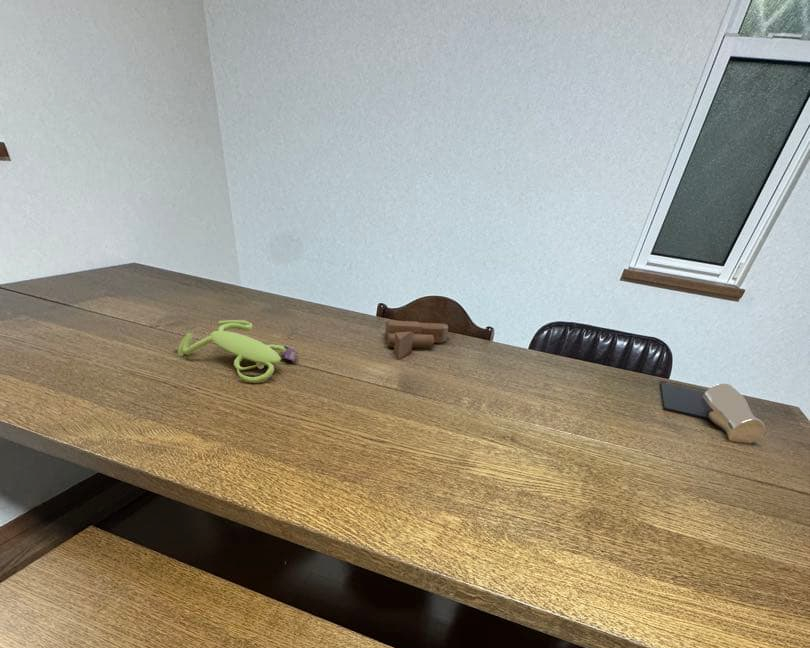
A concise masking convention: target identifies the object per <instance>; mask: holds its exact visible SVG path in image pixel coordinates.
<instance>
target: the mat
mask: <svg viewBox="0 0 810 648" xmlns="http://www.w3.org/2000/svg"><path fill="white" fill-rule="evenodd" d="M659 387H660V394H661V402H662V403H661V404H662V410H663V411H668V412H670V413H671V412H672V413H676V414H680V415H684V416H688V417H692V418H697V419H701V420H704V421H705V420H706V421H710V422H712V421H711V420H710V419H709V417H708V416H707V415H706V413H705V411H704V409H703V408H702V406H701V399H702V396H703V395H704V393H705V392H706V391H701V390H697V389H692V388H688V387H683V386H679V385H675V384H670V383H665V382H660V384H659Z"/></svg>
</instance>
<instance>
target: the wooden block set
mask: <svg viewBox="0 0 810 648" xmlns="http://www.w3.org/2000/svg"><path fill="white" fill-rule="evenodd" d="M448 332H449V326H448V324H447V323H435V322H420V321H411V320H410V321H409V320H391V319H389V320H386V322H385V332H384V333H385V334H384V337H385V340H386V346H387V347H388V348H393V354H394V355H395V358H396V359H397V360H398V361H399V360H401V359H402V358H405V357H407V356H408V355H411V354H413V348H414V349H415V348H417V349H432V348H434V344H442V343H444V342H446V341H447V339H448Z"/></svg>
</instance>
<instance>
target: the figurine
mask: <svg viewBox="0 0 810 648" xmlns="http://www.w3.org/2000/svg"><path fill="white" fill-rule="evenodd" d="M217 325H218V328H217V330H213V331H212V332H211V333H210V334H209V335H208V336H205V337H204V338H202V339H200V340H199V341H196V342H194V343H193V344H191V342H192V341H193V338H194V334H193V333H192V332H188V333H186V334H185V336H184V337H183V339H182V340H181V341H180V344H179V346H178V348H177V355H178V356H179V357H183V356H184V355H188V356H189V355H191V354H193V353H194V352H196V351H197V350H198V349H200V348H202V347H204V346H206V345H208V344H209V343H211V342H213V343H214V344H215V345H217V347H220V348H221V349H222V350H224V351H225V352H227V353H229V354H231V355H234V356H235V357H236V358H235V359H234V360H233V366H234V369H235V370H237V371H236V372H237V375H238V376H239V378H240V380H242V381H244V382H247V383H250V384H258V383H263V382H265V381H266V380H268V379H270V378H271V377H272V375H274V372H275V365H277V364H279V363H281V360H282V358H283V359H285V360H289V361H292V362H295V361H296V357H297V354H298V351H297V350H295V349H292V348H290V347H288V346H286V345H279V344H277V345H276V344H265V343H264V342H262V341H260V340H257V339H256V338H252V337H251V336H248V335H244V334H241V333H237V332H234V331H228V330H230V329H237V330H242V331H247V332H248V331H251V330H253V327H254V326H253V323H252V322H250V321H248V320H244V319H227V320H218V322H217ZM277 351H281V352H282V353H283V355H282V354H281V355H279V353H278V352H277ZM243 360H247V361H250V362H254V363H255V364H254V365H250V366H246V367H243V366H241V362H242V361H243ZM265 366H267V367H268V368H267V370H266V372H265V373H263V374H261V375H258V376H254V377H253V376H247V375H245V374H243V373H241V371H247V370H250V369H255V368H257V369H258V370H260V371H261V370H262V369H264V368H265Z"/></svg>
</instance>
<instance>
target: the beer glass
mask: <svg viewBox="0 0 810 648" xmlns="http://www.w3.org/2000/svg"><path fill="white" fill-rule="evenodd" d="M704 392H705V393H704V395H703V396H702V399H701V406H702V408H703V409H704V411H705V413H706V415H707V416H708V417H709V419H710V420H711V421H710V422H712V423H713V424H714V425H716V426H717V427H719V428H720V429H721V430H723V431H724V432H725V433H726V435H727V439H728V441H730V442H736V443H742V444H750V445H751V444H753V443H754V442H756V441H758V440H759V439H760V438H761V437H762V436H763V434H764V433H765V429H766V427H765V426H766V425H765V423H764V422H763V421H762V420H761V419H759V418H758V417H756V416H755V415H754V414H753V413H752V411H751V409H750V406H749V404H748V402H747V400H746V398H745V397H744V396H743V395H742V394H741V392H740V391H738V390H737V389H736V388H734V386H732V385H731V384H729V383H718V384H716V385H713V386H711V387H710V388H709V389H707V390H706V391H704Z"/></svg>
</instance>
